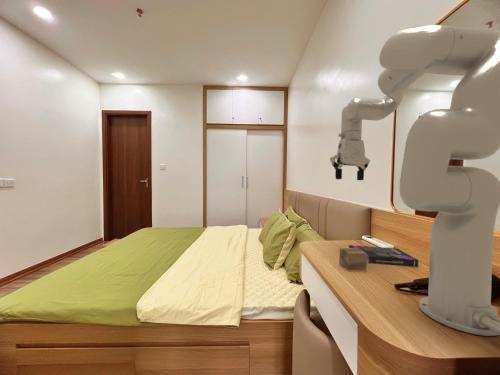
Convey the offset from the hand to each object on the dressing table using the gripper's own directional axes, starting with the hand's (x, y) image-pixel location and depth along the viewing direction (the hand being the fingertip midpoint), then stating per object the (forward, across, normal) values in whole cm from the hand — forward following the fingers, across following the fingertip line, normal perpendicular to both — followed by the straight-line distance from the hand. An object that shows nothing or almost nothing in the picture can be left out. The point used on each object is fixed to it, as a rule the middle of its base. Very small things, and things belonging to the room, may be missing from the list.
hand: (349, 179), depth 90 cm
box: (+31, +10, -6) cm, 33 cm away
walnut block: (+30, -8, -15) cm, 35 cm away
